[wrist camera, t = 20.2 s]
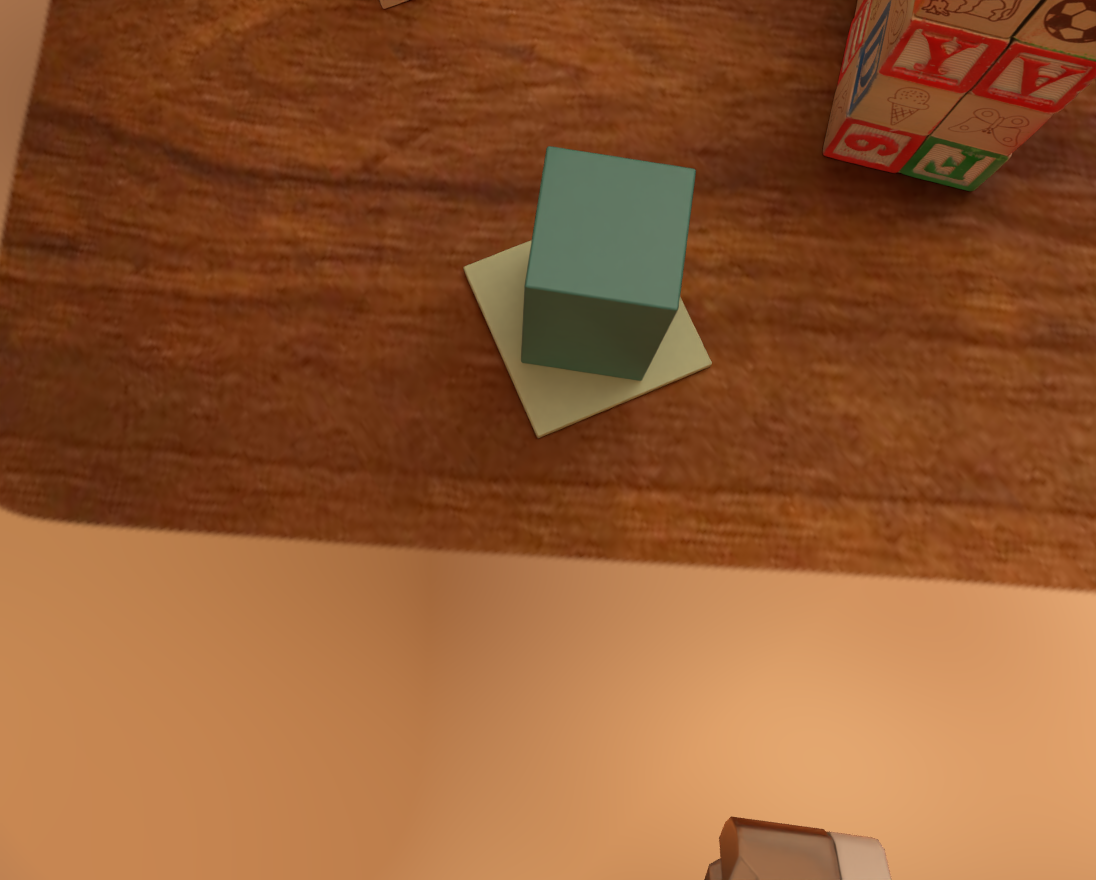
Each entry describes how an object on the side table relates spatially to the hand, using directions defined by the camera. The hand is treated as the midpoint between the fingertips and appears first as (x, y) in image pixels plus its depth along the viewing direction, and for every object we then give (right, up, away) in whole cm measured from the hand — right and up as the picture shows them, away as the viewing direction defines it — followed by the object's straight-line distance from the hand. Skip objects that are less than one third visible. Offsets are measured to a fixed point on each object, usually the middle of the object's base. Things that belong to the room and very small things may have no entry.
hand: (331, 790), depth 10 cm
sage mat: (+4, +8, +27) cm, 29 cm away
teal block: (+4, +8, +27) cm, 29 cm away
